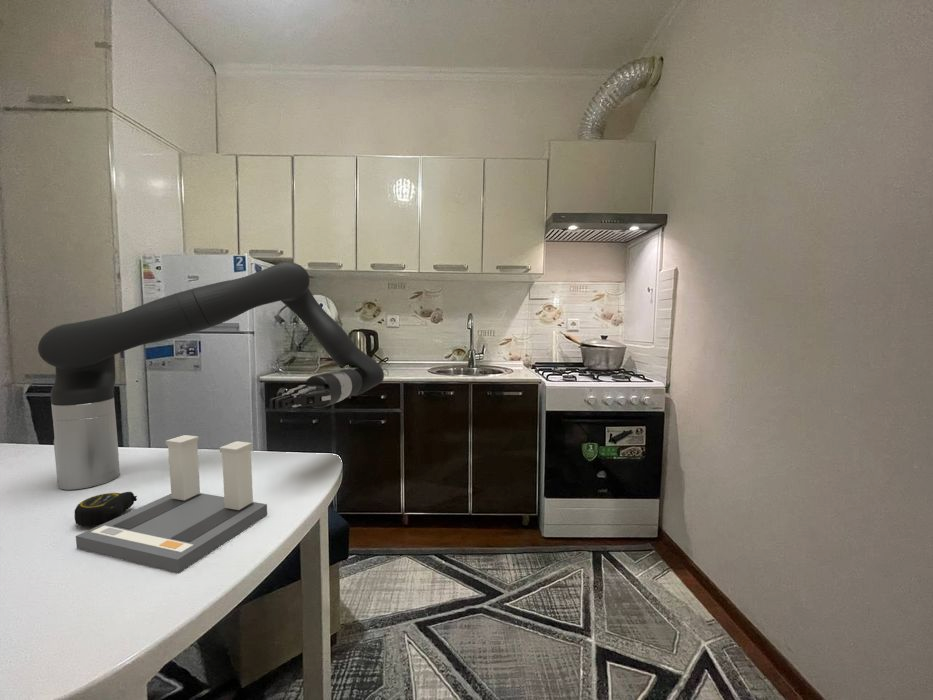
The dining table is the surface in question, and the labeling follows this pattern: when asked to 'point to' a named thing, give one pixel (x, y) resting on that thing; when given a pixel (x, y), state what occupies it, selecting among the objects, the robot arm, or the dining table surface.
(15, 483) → the dining table surface
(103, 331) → the robot arm
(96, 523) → the tape measure
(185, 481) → the switch tab
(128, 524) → the switch board
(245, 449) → the switch tab
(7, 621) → the dining table surface
